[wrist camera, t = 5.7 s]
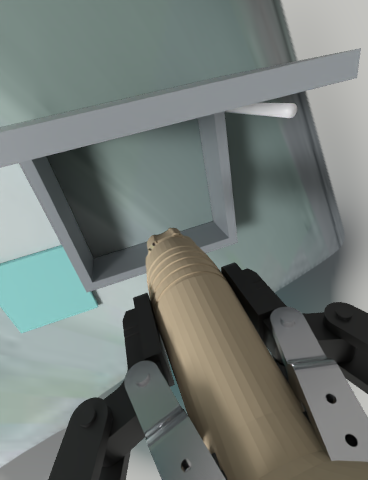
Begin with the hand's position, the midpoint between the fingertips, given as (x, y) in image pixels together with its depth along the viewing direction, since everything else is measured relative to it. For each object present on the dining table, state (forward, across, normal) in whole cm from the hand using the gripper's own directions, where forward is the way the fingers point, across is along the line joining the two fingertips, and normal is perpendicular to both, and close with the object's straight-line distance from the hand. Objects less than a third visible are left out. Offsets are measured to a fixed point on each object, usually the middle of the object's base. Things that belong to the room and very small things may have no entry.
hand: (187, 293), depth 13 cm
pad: (+19, +15, +9) cm, 26 cm away
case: (+19, 0, 0) cm, 19 cm away
